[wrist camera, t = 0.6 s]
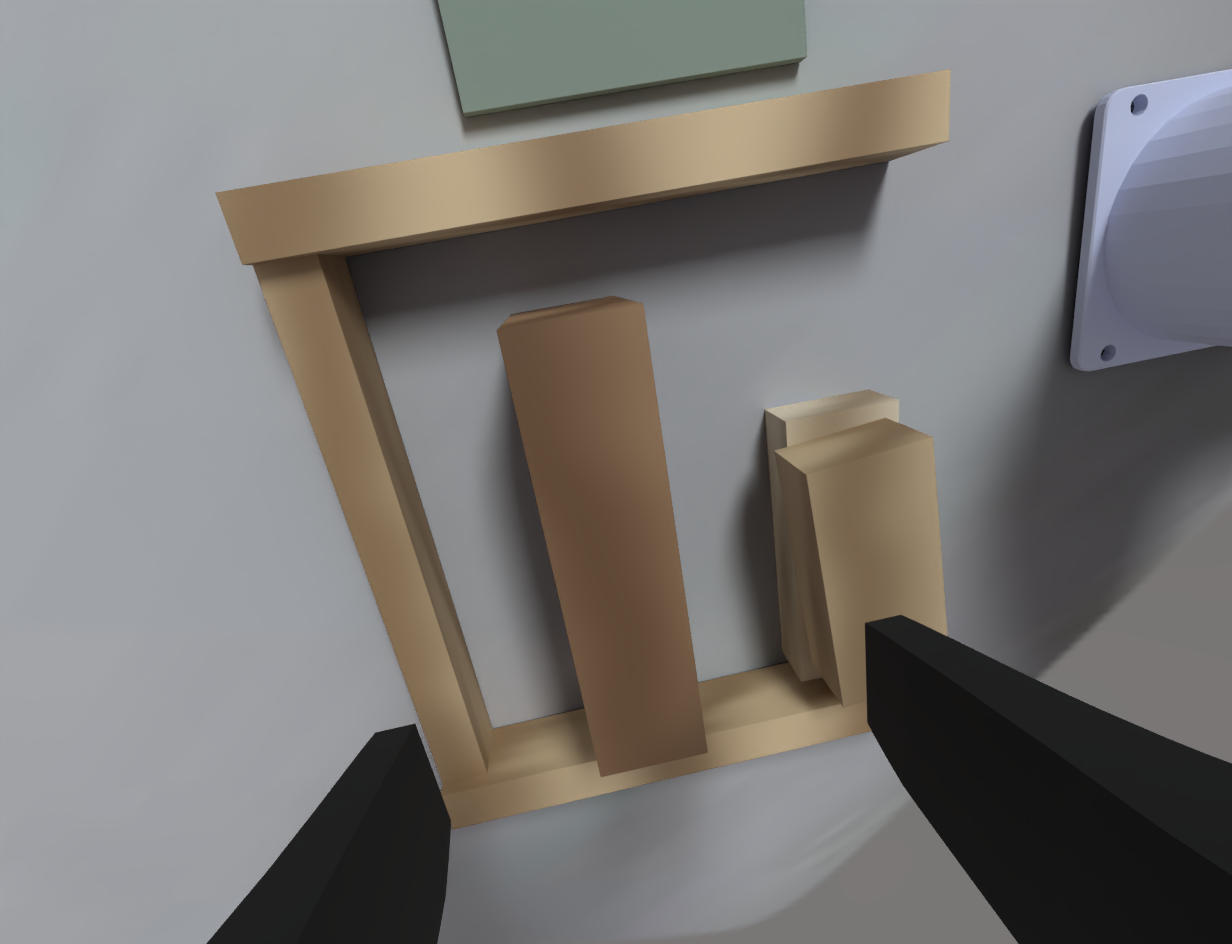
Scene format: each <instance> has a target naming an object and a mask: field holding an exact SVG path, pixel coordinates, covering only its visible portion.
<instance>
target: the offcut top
mask: <svg viewBox="0 0 1232 944" xmlns="http://www.w3.org/2000/svg"><path fill="white" fill-rule="evenodd" d="M774 453H775V458H776V464H777V469H778V475H779V481H780V486H781V492H782V497H783V503H784V509H785V514H786V520H787V525H788V531H789V537H790V542H791V548H792V553H793V559H794V565H795V570H796V576H797V581H798V587H799V593H800V598H801V604H802V609H803V615H804V621H805V626H806V632H807V637H808V643H809V649H810V654H811V660H812V663H813V665H814V666H815V668H816V669H817V670H818V672H819V673H820V675H821V676H822V678H823V679H824V681H825V682H826V683H827V685H828V686H829V688H830V689H831V691H832V692H833V693H834V695H835V696H836V698H837V699H838V701H839V702H840V703H841V705H842V706H843V708H845V707H848V706H851V705H855V704H858V703H861V702H864V701H867V693H866V653H865V623H866V622H871V621H875V620H880V619H884V618H888V617H893V616H897V615H903V616H905V617H907V618H910V619H912V620H914V621H916V622H919V623H921V624H923V625H925V626H927V627H929V628H931V629H933V630H935V631H937V632H939V633H941V634H943V635H945V636H947V622H946V609H945V595H944V581H943V568H942V554H941V541H940V527H939V513H938V500H937V486H936V472H935V459H934V445H933V437H932V436H929V435H927V434H924V433H922V432H919V431H917V430H914V429H912V428H910V427H907V426H905V425H902V424H900V423H897V422H895V421H892V420H890V419H888V418H883V419H879V420H876V421H873V422H869V423H866V424H863V425H859V426H856V427H852V428H849V429H846V430H842V431H839V432H836V433H832V434H829V435H826V436H822V437H819V438H816V439H812V440H809V441H805V442H802V443H799V444H795V445H792V446H789V447H785V448H782V449H779V450H775V451H774Z"/></svg>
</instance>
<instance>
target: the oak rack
mask: <svg viewBox="0 0 1232 944" xmlns="http://www.w3.org/2000/svg"><path fill="white" fill-rule="evenodd" d="M950 76H951V69H949V70H943V71H937V72H931V73H925V74H919V75H913V76H907V77H901V78H895V79H889V80H883V81H877V82H871V83H866V84H860V85H854V86H848V87H842V88H836V89H830V90H824V91H818V92H812V93H806V94H800V95H794V96H788V97H782V98H776V99H770V100H764V101H758V102H752V103H746V104H741V105H735V106H729V107H723V108H717V109H711V110H705V111H699V112H693V113H687V114H681V115H675V116H669V117H663V118H657V119H651V120H645V121H639V122H633V123H627V124H622V125H616V126H610V127H604V128H598V129H592V130H586V131H580V132H574V133H568V134H562V135H556V136H550V137H544V138H538V139H532V140H526V141H520V142H514V143H508V144H502V145H497V146H491V147H485V148H479V149H473V150H467V151H461V152H455V153H449V154H443V155H437V156H431V157H425V158H419V159H413V160H407V161H401V162H395V163H389V164H383V165H377V166H372V167H366V168H360V169H354V170H348V171H342V172H336V173H330V174H324V175H318V176H312V177H306V178H300V179H294V180H288V181H282V182H276V183H270V184H264V185H258V186H253V187H247V188H241V189H235V190H229V191H223V192H217V193H216V196H217V198H218V201H219V204H220V206H221V209H222V212H223V214H224V217H225V220H226V222H227V225H228V228H229V231H230V233H231V236H232V239H233V241H234V244H235V247H236V249H237V252H238V255H239V257H240V260H241V263H242V265H253V267H254V270H255V272H256V275H257V278H258V281H259V283H260V286H261V289H262V292H263V294H264V297H265V300H266V302H267V305H268V308H269V311H270V313H271V316H272V319H273V322H274V324H275V327H276V330H277V332H278V335H279V338H280V341H281V343H282V346H283V349H284V352H285V354H286V357H287V360H288V362H289V365H290V368H291V371H292V373H293V376H294V379H295V382H296V384H297V387H298V390H299V392H300V395H301V398H302V401H303V403H304V406H305V409H306V412H307V414H308V417H309V420H310V422H311V425H312V428H313V431H314V433H315V436H316V439H317V442H318V444H319V447H320V450H321V452H322V455H323V458H324V461H325V463H326V466H327V469H328V472H329V474H330V477H331V480H332V482H333V485H334V488H335V491H336V493H337V496H338V499H339V502H340V504H341V507H342V510H343V513H344V515H345V518H346V521H347V523H348V526H349V529H350V532H351V534H352V537H353V540H354V543H355V545H356V548H357V551H358V553H359V556H360V559H361V562H362V564H363V567H364V570H365V573H366V575H367V578H368V581H369V583H370V586H371V589H372V592H373V594H374V597H375V600H376V603H377V605H378V608H379V611H380V613H381V616H382V619H383V622H384V624H385V627H386V630H387V633H388V635H389V638H390V641H391V643H392V646H393V649H394V652H395V654H396V657H397V660H398V663H399V665H400V668H401V671H402V673H403V676H404V679H405V682H406V684H407V687H408V690H409V693H410V695H411V698H412V701H413V704H414V706H415V709H416V712H417V714H418V717H419V720H420V723H421V725H422V728H423V731H424V734H425V736H426V739H427V742H428V744H429V747H430V750H431V753H432V755H433V758H434V761H435V764H436V766H437V769H438V772H439V774H440V777H441V780H442V783H443V786H442V791H441V795H442V797H443V800H444V803H445V805H446V808H447V811H448V814H449V816H450V819H451V827H452V829H457V828H461V827H465V826H469V825H474V824H478V823H482V822H486V821H491V820H495V819H499V818H503V817H508V816H512V815H516V814H520V813H525V812H529V811H533V810H538V809H542V808H546V807H550V806H555V805H559V804H563V803H567V802H572V801H576V800H580V799H584V798H589V797H593V796H597V795H601V794H606V793H610V792H614V791H618V790H623V789H627V788H631V787H635V786H640V785H644V784H648V783H652V782H657V781H661V780H665V779H669V778H674V777H678V776H682V775H687V774H691V773H695V772H699V771H704V770H708V769H712V768H716V767H721V766H725V765H729V764H733V763H738V762H742V761H746V760H750V759H755V758H759V757H763V756H767V755H772V754H776V753H780V752H784V751H789V750H793V749H797V748H801V747H806V746H810V745H814V744H818V743H823V742H827V741H831V740H836V739H840V738H844V737H848V736H853V735H857V734H861V733H865V732H870V731H872V730H871V729H870V727H869V725H868V723H867V701H864V702H861V703H858V704H855V705H851V706H848V707H845V708H843V706H842V705H841V703H840V702H839V701H838V699H837V698H836V696H835V695H834V693H833V692H832V691H831V689H830V688H829V686H828V685H827V683H826V682H825V681H824V679H823V678H817V679H813V680H808V681H803V682H801V680H800V679H799V677H798V676H797V674H796V673H795V671H794V669H793V668H792V666H791V665H790V663H789V662H787V663H782V664H778V665H774V666H769V667H765V668H760V669H756V670H751V671H747V672H743V673H738V674H734V675H729V676H725V677H720V678H716V679H712V680H707V681H703V682H698V687H699V694H700V701H701V708H702V715H703V722H704V729H705V736H706V743H707V750H708V753H705V754H701V755H696V756H692V757H688V758H683V759H679V760H675V761H670V762H666V763H662V764H657V765H653V766H648V767H644V768H640V769H635V770H631V771H627V772H622V773H618V774H614V775H609V776H605V777H601V776H600V772H599V768H598V763H597V759H596V755H595V751H594V746H593V742H592V738H591V733H590V729H589V725H588V721H587V716H586V712H585V708H583V709H579V710H574V711H570V712H565V713H561V714H557V715H552V716H548V717H543V718H539V719H534V720H530V721H526V722H521V723H517V724H512V725H508V726H503V727H499V728H495V729H492V726H491V722H490V719H489V716H488V713H487V710H486V706H485V703H484V700H483V697H482V694H481V690H480V687H479V684H478V681H477V678H476V674H475V671H474V668H473V665H472V662H471V658H470V655H469V652H468V649H467V646H466V642H465V639H464V636H463V633H462V630H461V626H460V623H459V620H458V617H457V614H456V611H455V607H454V604H453V601H452V598H451V595H450V591H449V588H448V585H447V582H446V579H445V575H444V572H443V569H442V566H441V563H440V559H439V556H438V553H437V550H436V547H435V543H434V540H433V537H432V534H431V531H430V527H429V524H428V521H427V518H426V515H425V511H424V508H423V505H422V502H421V499H420V495H419V492H418V489H417V486H416V483H415V479H414V476H413V473H412V470H411V467H410V464H409V460H408V457H407V454H406V451H405V448H404V444H403V441H402V438H401V435H400V432H399V428H398V425H397V422H396V419H395V416H394V412H393V409H392V406H391V403H390V400H389V396H388V393H387V390H386V387H385V384H384V380H383V377H382V374H381V371H380V368H379V364H378V361H377V358H376V355H375V352H374V348H373V345H372V342H371V339H370V336H369V332H368V329H367V326H366V323H365V320H364V317H363V313H362V310H361V307H360V304H359V301H358V297H357V294H356V291H355V288H354V285H353V281H352V278H351V275H350V272H349V269H348V265H347V262H346V259H345V257H348V256H354V255H359V254H365V253H371V252H376V251H382V250H388V249H393V248H399V247H405V246H410V245H416V244H422V243H427V242H433V241H439V240H444V239H450V238H456V237H461V236H467V235H473V234H478V233H484V232H490V231H495V230H501V229H507V228H512V227H518V226H524V225H529V224H535V223H541V222H546V221H552V220H558V219H563V218H569V217H575V216H580V215H586V214H592V213H597V212H603V211H609V210H614V209H620V208H626V207H631V206H637V205H643V204H648V203H654V202H660V201H665V200H671V199H677V198H682V197H688V196H694V195H699V194H705V193H711V192H716V191H722V190H728V189H733V188H739V187H745V186H750V185H756V184H762V183H767V182H773V181H779V180H784V179H790V178H796V177H801V176H807V175H813V174H818V173H824V172H830V171H835V170H841V169H847V168H852V167H858V166H864V165H869V164H875V163H881V162H886V161H891V160H894V159H897V158H900V157H903V156H906V155H909V154H912V153H915V152H917V151H920V150H923V149H926V148H929V147H932V146H935V145H938V144H941V143H944V142H947V141H949V115H950Z"/></svg>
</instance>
